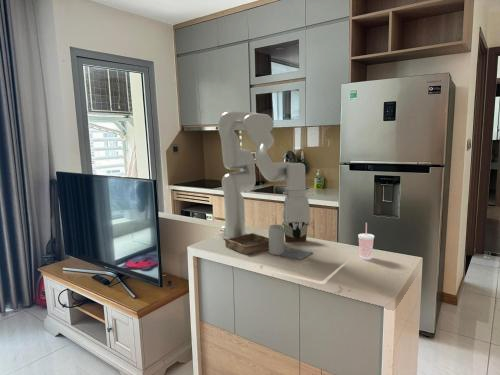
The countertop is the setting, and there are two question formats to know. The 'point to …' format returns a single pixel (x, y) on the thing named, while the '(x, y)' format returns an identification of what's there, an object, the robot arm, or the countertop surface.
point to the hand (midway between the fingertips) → (296, 238)
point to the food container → (289, 233)
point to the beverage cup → (365, 245)
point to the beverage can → (276, 239)
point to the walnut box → (237, 246)
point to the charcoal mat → (296, 254)
